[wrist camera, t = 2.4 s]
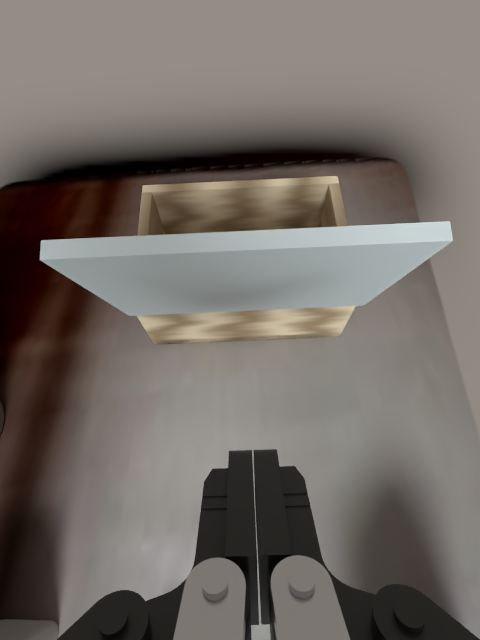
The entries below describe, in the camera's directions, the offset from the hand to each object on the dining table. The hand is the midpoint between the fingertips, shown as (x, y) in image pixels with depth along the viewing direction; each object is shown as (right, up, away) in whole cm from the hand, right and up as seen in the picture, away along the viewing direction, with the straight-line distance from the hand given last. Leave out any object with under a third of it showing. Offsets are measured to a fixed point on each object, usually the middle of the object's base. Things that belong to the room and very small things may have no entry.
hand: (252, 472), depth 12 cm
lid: (0, +8, +13) cm, 15 cm away
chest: (0, +9, +31) cm, 33 cm away
